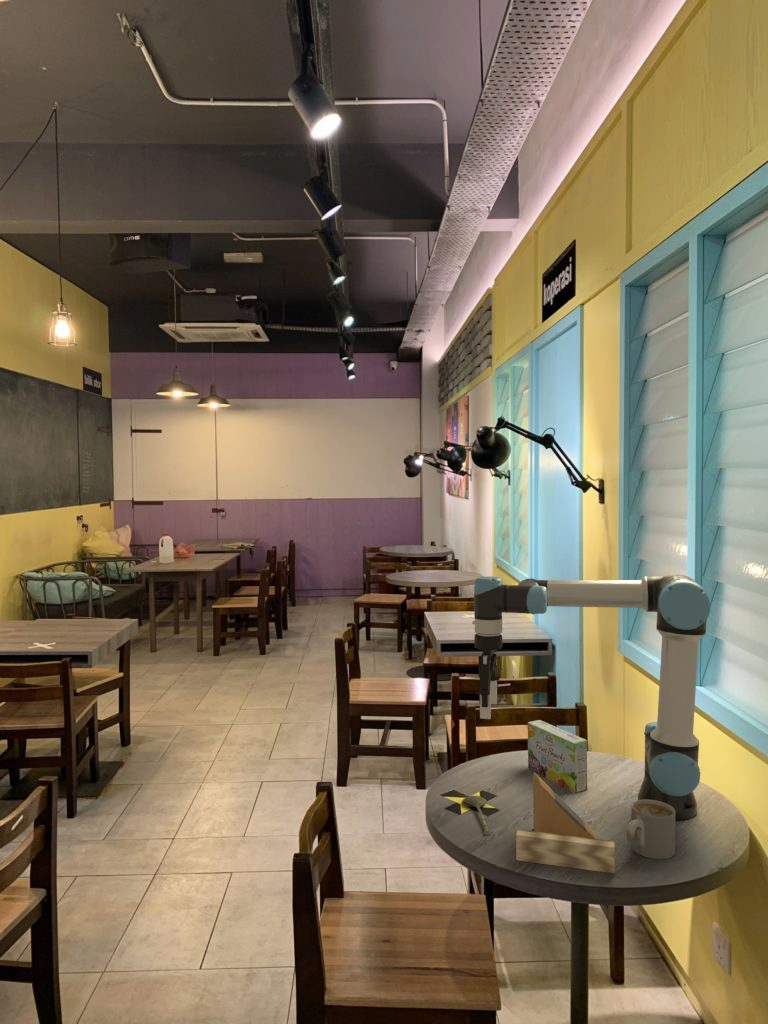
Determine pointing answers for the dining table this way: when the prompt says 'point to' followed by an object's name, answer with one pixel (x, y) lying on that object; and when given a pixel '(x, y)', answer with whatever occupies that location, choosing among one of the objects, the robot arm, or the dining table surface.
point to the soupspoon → (478, 802)
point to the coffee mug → (652, 829)
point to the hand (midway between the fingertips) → (488, 711)
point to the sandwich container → (556, 813)
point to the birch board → (565, 850)
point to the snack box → (557, 755)
